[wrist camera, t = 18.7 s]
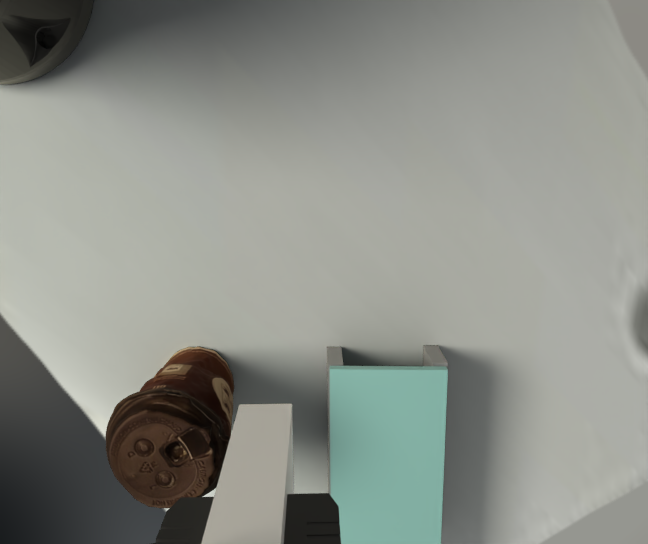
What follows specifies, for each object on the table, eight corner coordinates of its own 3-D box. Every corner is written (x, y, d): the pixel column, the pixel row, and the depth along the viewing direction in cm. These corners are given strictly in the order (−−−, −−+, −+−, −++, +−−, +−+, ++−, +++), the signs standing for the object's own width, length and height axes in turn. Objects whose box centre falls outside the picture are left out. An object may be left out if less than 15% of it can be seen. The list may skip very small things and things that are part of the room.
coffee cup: (258, 344, 51) (239, 416, 38) (242, 433, 53) (220, 529, 40) (154, 327, 50) (101, 393, 38) (143, 416, 52) (88, 509, 39)
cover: (329, 365, 47) (329, 369, 46) (446, 366, 46) (447, 369, 46) (331, 565, 51) (331, 570, 50) (438, 567, 50) (439, 573, 50)
